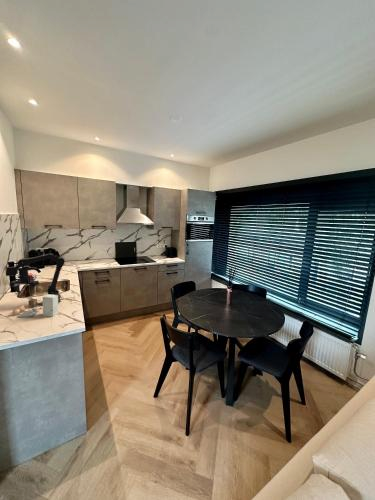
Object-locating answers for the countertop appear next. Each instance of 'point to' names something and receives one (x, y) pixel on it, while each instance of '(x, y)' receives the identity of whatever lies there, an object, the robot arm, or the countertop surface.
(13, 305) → the countertop surface
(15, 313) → the peach capsule shape
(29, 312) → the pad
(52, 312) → the skincare box
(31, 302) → the walnut block
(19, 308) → the peach rounded capsule
